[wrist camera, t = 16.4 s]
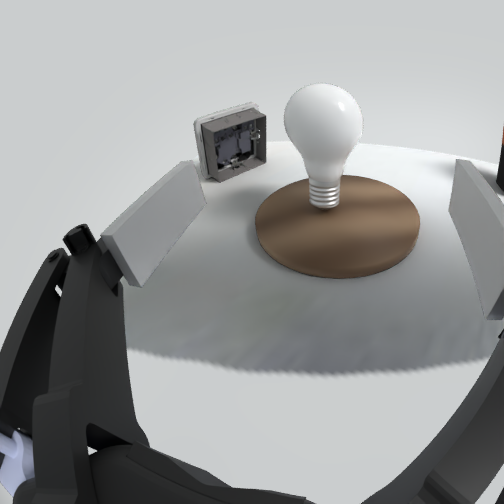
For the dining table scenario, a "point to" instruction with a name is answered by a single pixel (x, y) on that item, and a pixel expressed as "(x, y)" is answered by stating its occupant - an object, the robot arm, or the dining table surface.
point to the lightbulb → (323, 136)
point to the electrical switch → (231, 141)
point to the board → (339, 229)
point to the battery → (501, 167)
